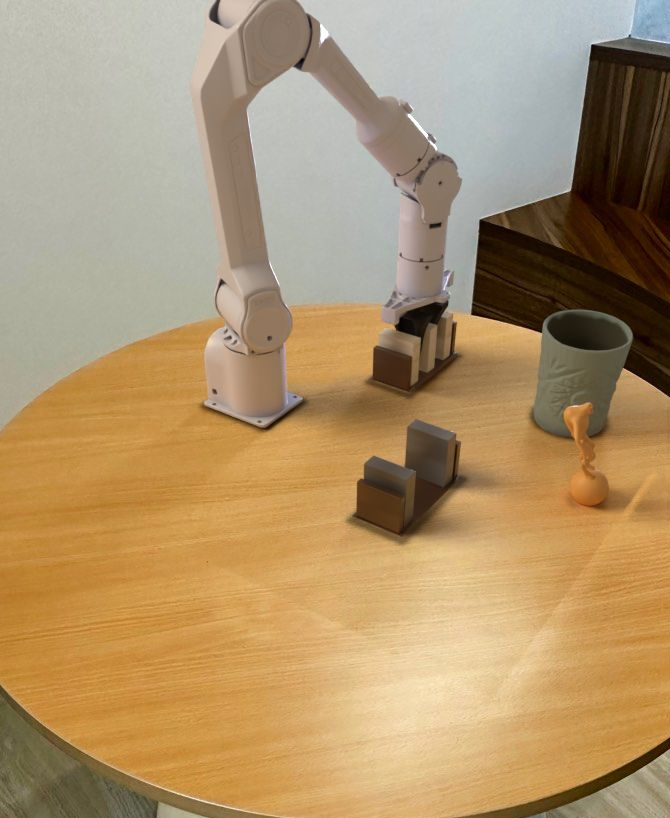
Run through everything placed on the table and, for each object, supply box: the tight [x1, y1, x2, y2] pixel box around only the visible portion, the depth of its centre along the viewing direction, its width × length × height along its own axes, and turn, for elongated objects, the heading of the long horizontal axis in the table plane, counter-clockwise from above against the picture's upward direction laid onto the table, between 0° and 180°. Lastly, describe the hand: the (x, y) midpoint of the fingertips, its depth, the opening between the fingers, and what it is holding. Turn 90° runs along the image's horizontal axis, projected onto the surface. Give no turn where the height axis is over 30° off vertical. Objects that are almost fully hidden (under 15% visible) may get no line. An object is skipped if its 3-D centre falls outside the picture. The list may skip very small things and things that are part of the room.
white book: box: [419, 323, 437, 373], centre depth 114 cm, size 5×2×6 cm, turn 57°
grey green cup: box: [533, 309, 634, 439], centre depth 103 cm, size 10×10×12 cm
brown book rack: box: [351, 418, 462, 538], centre depth 92 cm, size 6×13×7 cm, turn 147°
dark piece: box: [368, 310, 458, 393], centre depth 114 cm, size 6×13×7 cm, turn 147°
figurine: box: [564, 403, 610, 507], centre depth 91 cm, size 8×6×12 cm
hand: (415, 355), depth 115 cm, fingers closed on white book, 2 cm apart
